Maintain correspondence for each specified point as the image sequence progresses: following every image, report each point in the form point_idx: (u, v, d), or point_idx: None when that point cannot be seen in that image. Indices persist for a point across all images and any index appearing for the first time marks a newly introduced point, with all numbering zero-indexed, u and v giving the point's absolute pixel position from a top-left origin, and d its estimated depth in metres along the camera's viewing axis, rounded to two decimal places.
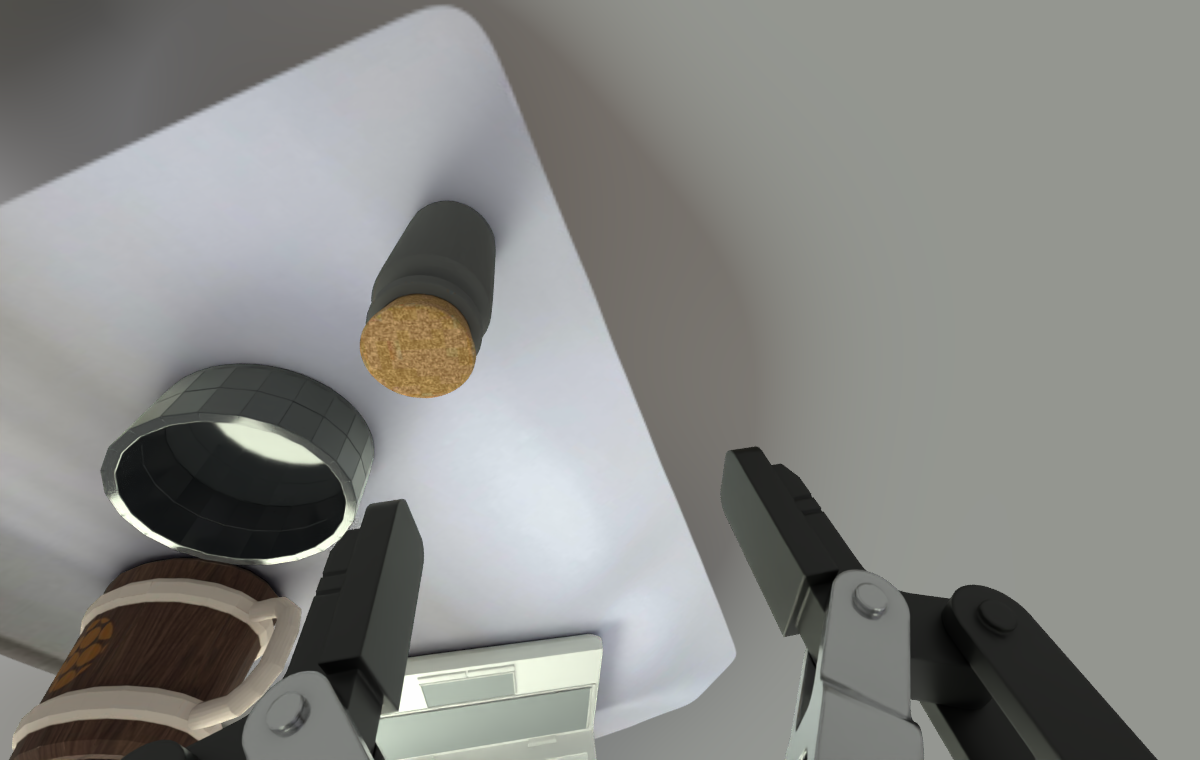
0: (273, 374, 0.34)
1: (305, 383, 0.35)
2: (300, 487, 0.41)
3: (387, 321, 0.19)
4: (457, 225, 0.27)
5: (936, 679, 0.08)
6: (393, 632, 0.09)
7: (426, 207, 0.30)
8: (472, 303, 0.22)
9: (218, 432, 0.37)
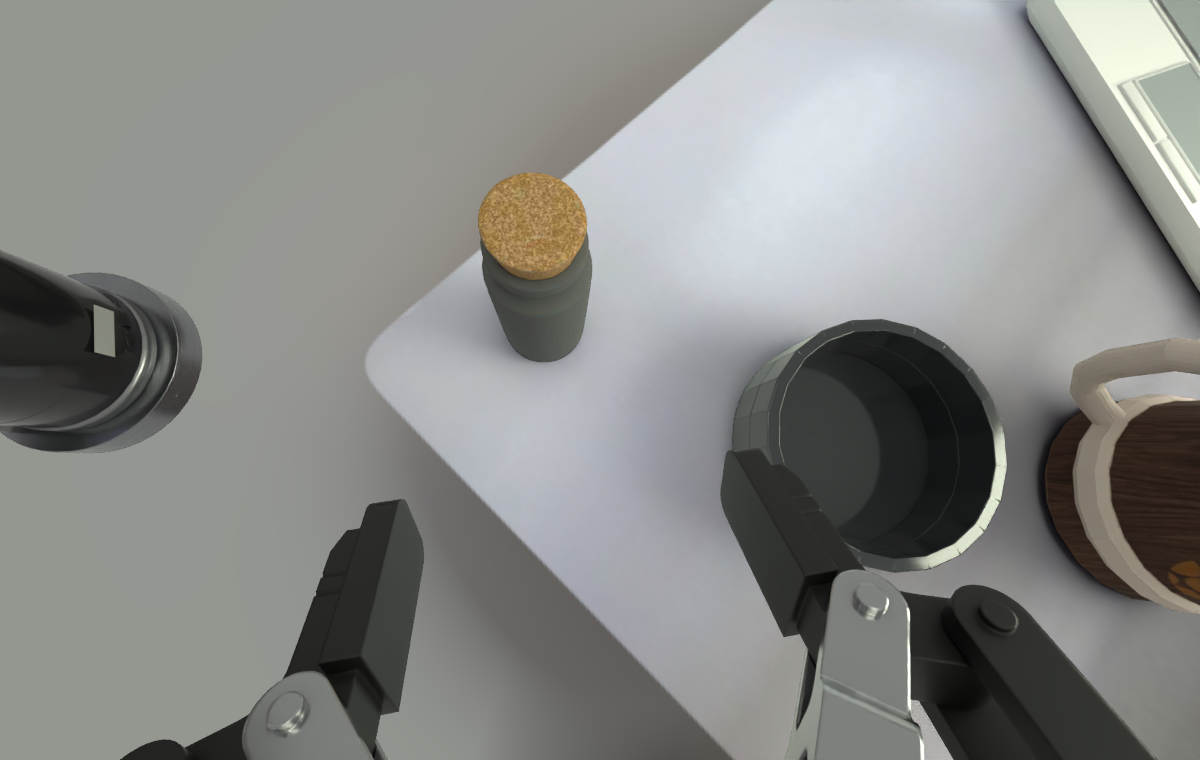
0: (737, 447, 0.33)
1: (738, 418, 0.34)
2: (885, 407, 0.35)
3: (505, 251, 0.20)
4: None
5: (936, 679, 0.08)
6: (393, 632, 0.09)
7: (515, 348, 0.33)
8: None
9: (835, 494, 0.34)
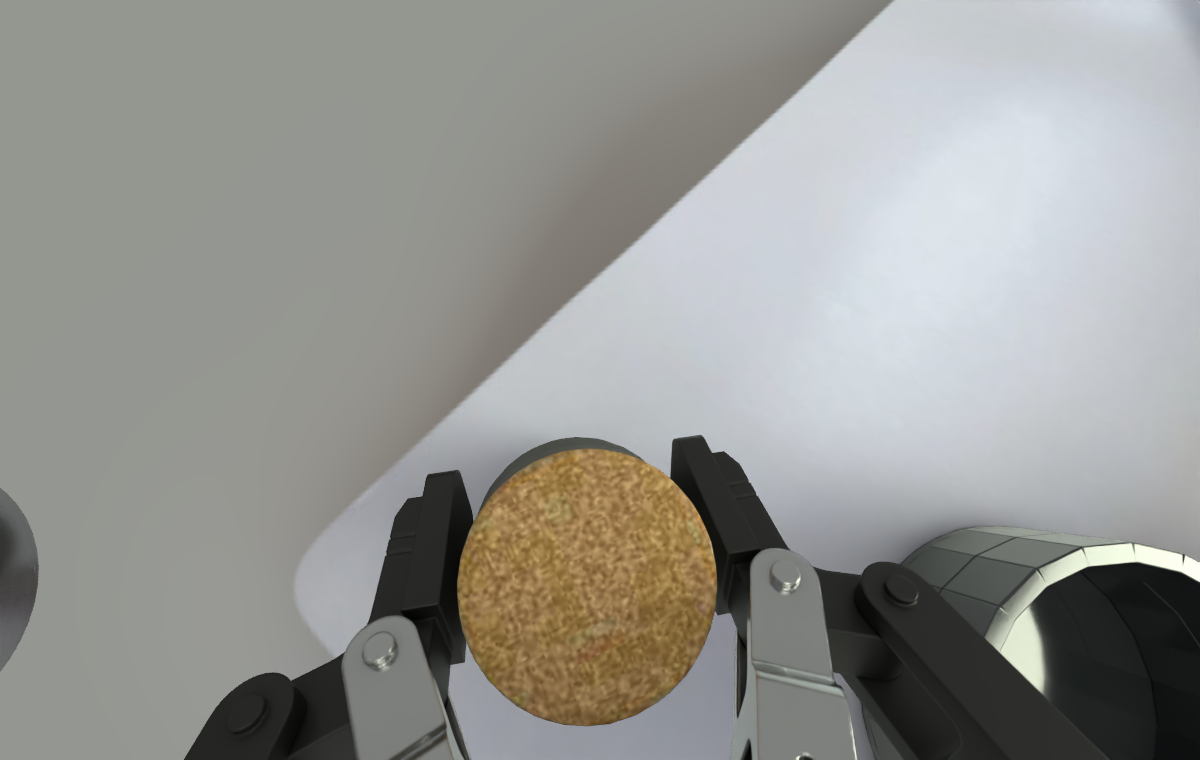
0: None
1: None
2: (1086, 631, 0.23)
3: (524, 677, 0.08)
4: None
5: (846, 650, 0.08)
6: None
7: None
8: (495, 488, 0.11)
9: None
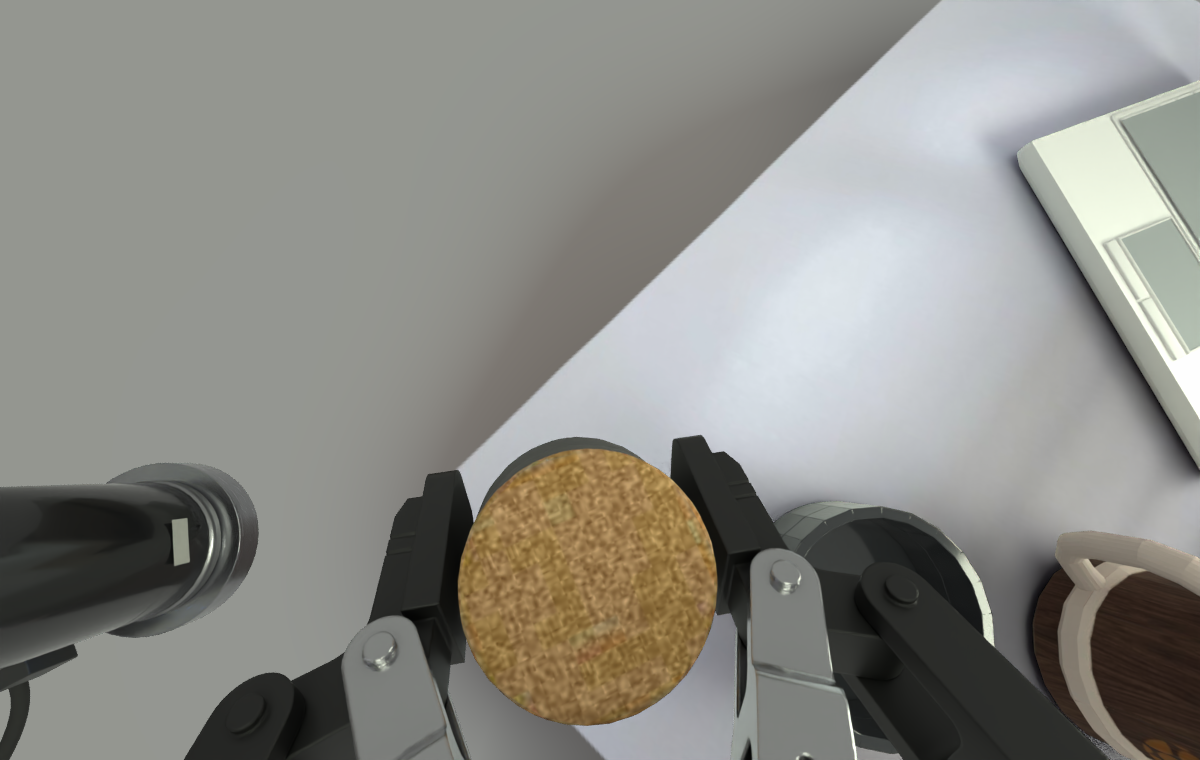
0: None
1: None
2: None
3: (525, 677, 0.08)
4: None
5: (847, 651, 0.08)
6: (457, 590, 0.10)
7: None
8: None
9: None
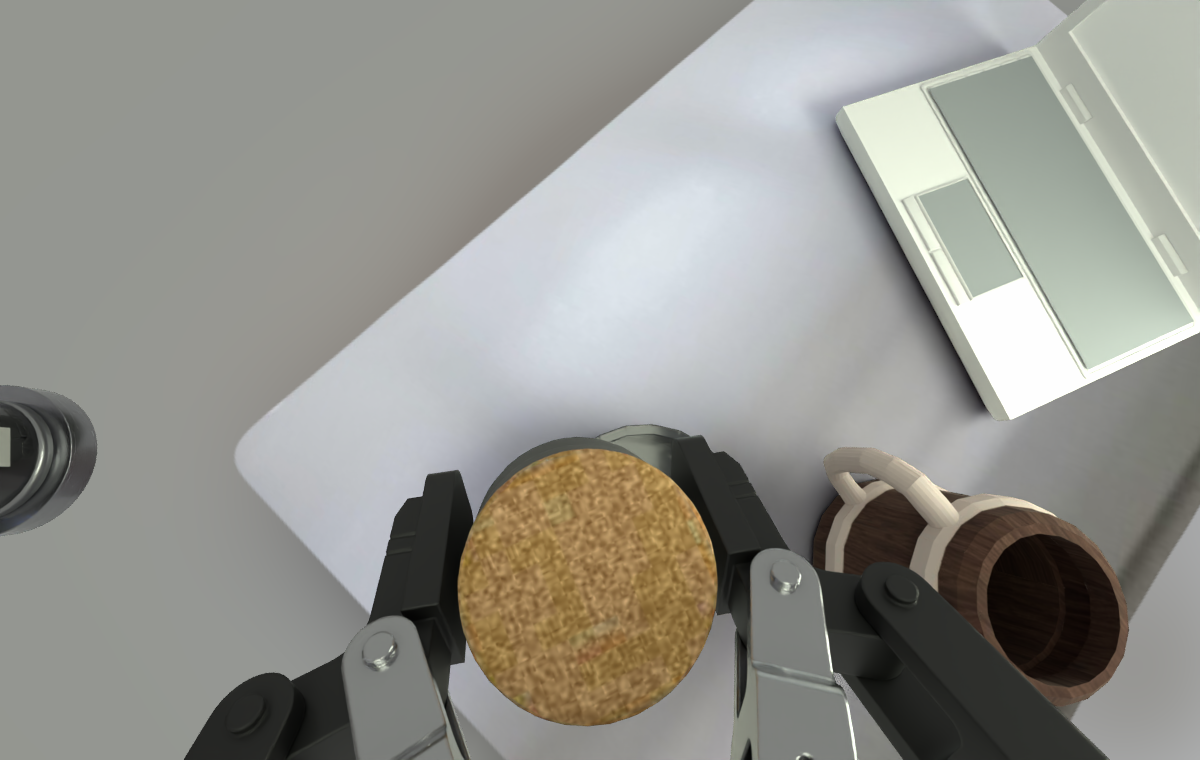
0: None
1: None
2: None
3: (525, 677, 0.08)
4: None
5: (847, 651, 0.08)
6: (457, 590, 0.10)
7: None
8: (495, 488, 0.11)
9: None
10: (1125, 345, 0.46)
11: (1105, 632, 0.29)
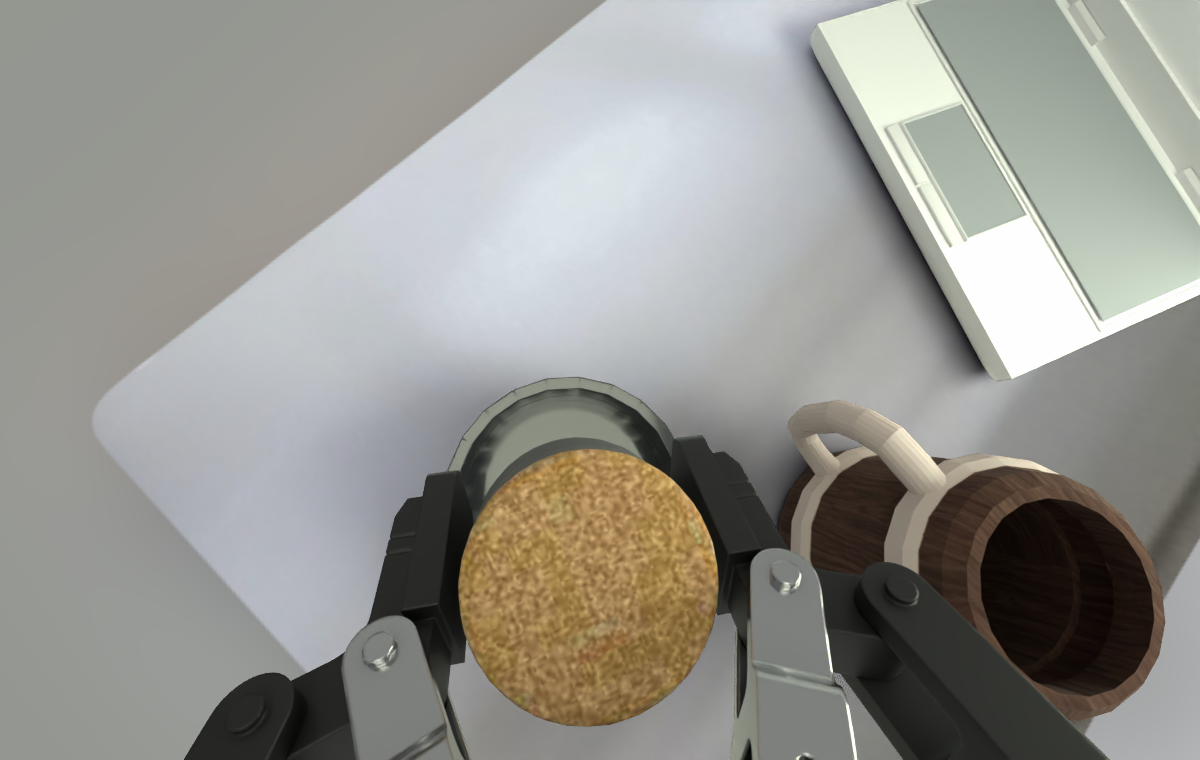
0: None
1: None
2: None
3: (526, 678, 0.08)
4: None
5: (847, 651, 0.08)
6: (457, 590, 0.10)
7: None
8: None
9: None
10: (1146, 293, 0.39)
11: (1133, 624, 0.23)
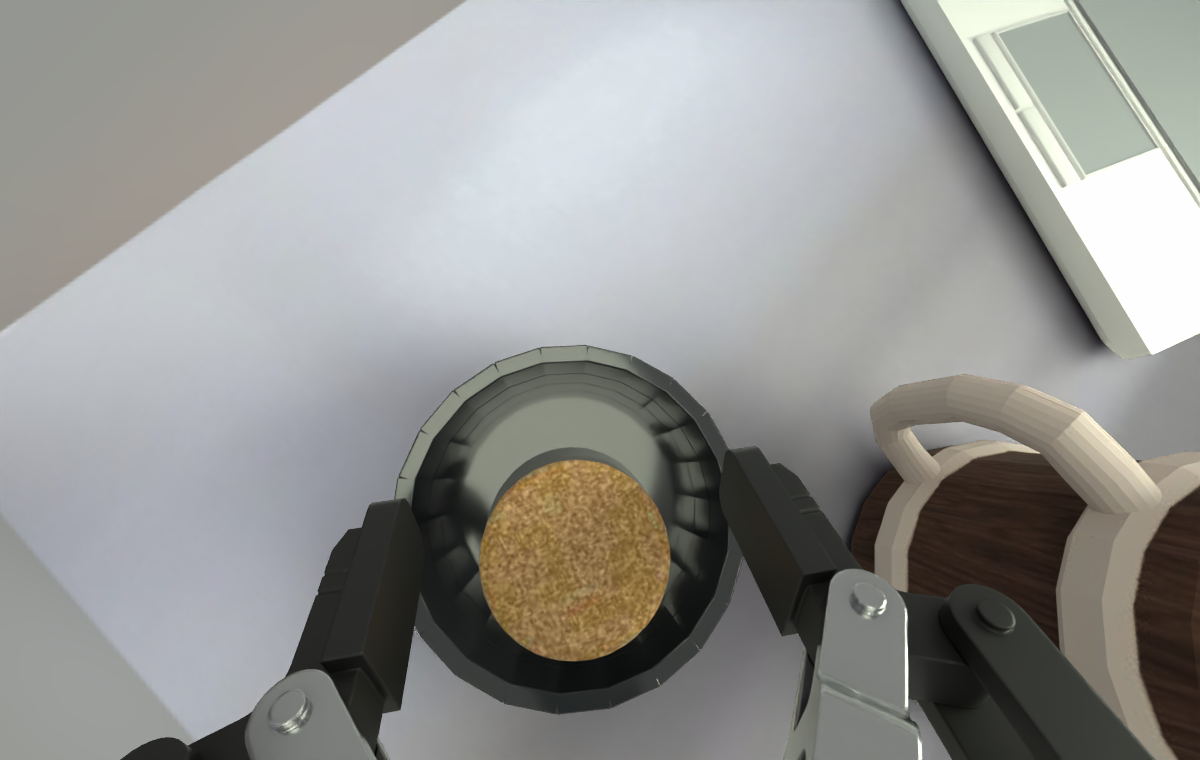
0: None
1: None
2: (642, 456, 0.27)
3: (529, 626, 0.11)
4: None
5: (933, 678, 0.08)
6: (394, 631, 0.09)
7: None
8: None
9: None
10: None
11: None
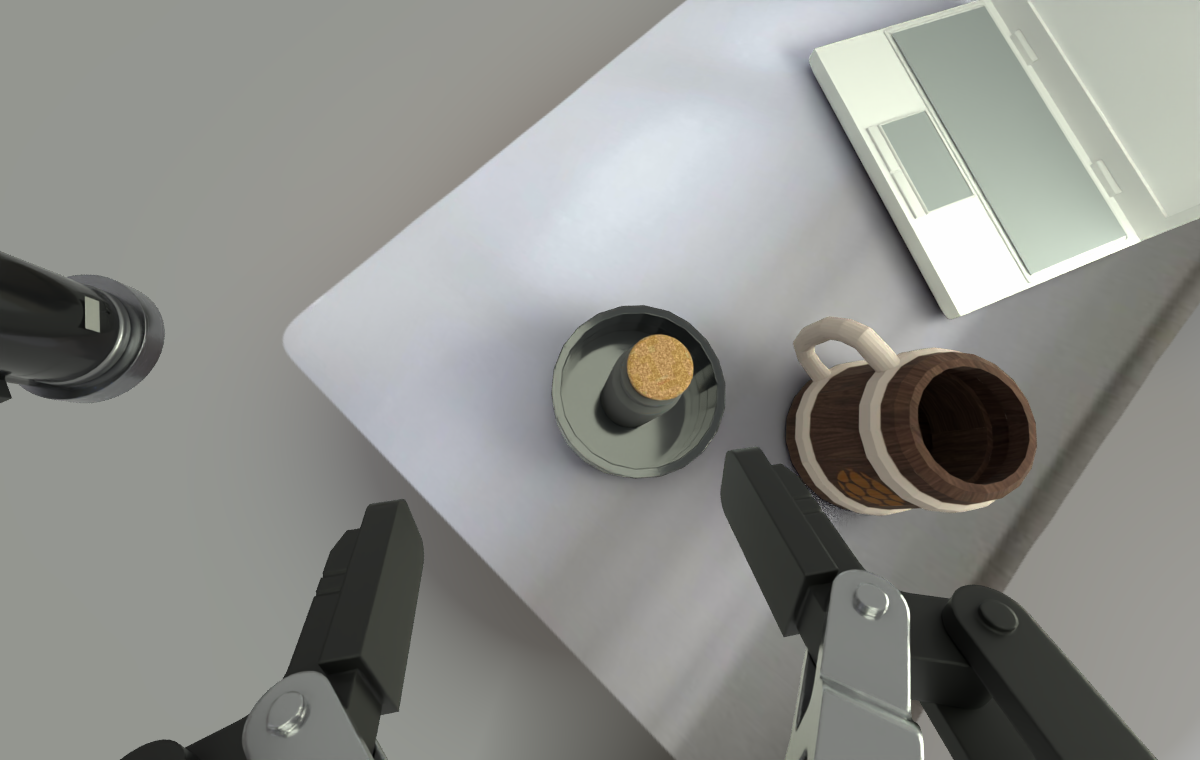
0: None
1: None
2: None
3: (645, 388, 0.32)
4: (605, 391, 0.42)
5: (936, 679, 0.08)
6: (393, 632, 0.09)
7: (611, 419, 0.46)
8: (626, 353, 0.35)
9: (626, 433, 0.47)
10: (1064, 254, 0.52)
11: (1018, 448, 0.35)
